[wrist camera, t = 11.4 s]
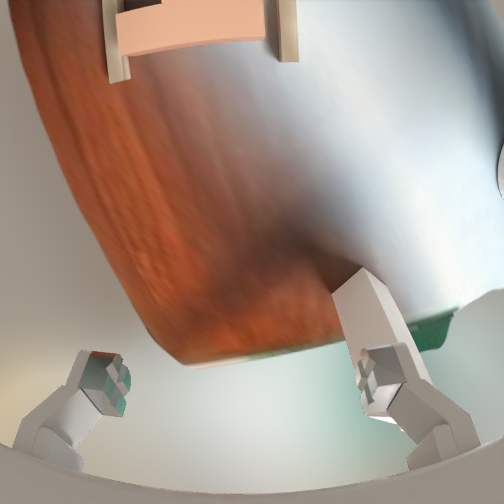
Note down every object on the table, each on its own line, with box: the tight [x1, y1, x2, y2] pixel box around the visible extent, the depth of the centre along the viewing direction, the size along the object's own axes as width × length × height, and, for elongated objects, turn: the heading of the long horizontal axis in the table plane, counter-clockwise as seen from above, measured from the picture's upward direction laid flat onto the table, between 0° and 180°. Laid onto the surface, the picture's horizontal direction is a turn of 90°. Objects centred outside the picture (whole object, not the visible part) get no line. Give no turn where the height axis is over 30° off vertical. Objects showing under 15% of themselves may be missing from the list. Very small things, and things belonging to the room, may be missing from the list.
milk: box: [332, 267, 433, 432], centre depth 33 cm, size 6×6×22 cm
